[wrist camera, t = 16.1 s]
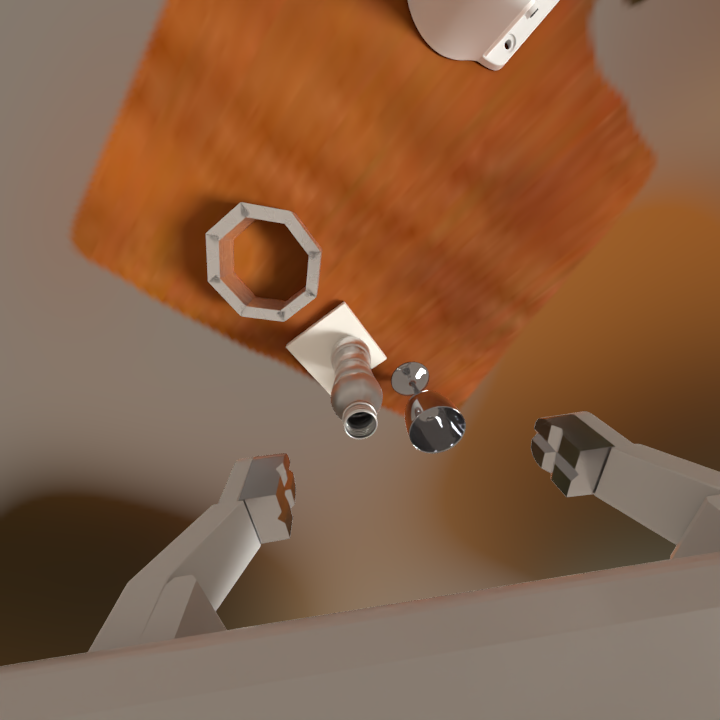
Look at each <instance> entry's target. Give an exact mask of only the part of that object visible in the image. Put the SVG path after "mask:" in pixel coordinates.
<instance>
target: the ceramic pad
mask: <svg viewBox="0 0 720 720" xmlns="http://www.w3.org/2000/svg"><path fill="white" fill-rule="evenodd" d="M348 336H354V337H357V338H360V339H361V340H363V341H364V342H365V343H366V345H367V346H368V348H369V350H370V353H371V364H370V366H371V369H372V368H374V367H375V366H377V365H378V364H380V363H381V362H383V361H384V360H386V359H387V358H386V356H385V354H384V353H383V351H382V350H381V349H380V348H379V346H378V345H377V344H376V342H375V341H374V340H373V338H372V337H371V336H370V334H369V333H368V332H367V330H366V329H365V328H364V326H363V325H362V324H361V322H360V321H359V320H358V318H357V317H356V316H355V314H354V313H353V312H352V310H351V309H350V308H349V307H348V305H347V304H346V303H345V301H344V302H342V303H341V304H340V305H338V306H337V307H336V308H334V309H333V310H332V311H330V312H329V313H328V314H326V315H325V316H324V317H322V318H321V319H320V320H318V321H317V322H316V323H314V324H313V325H312V326H310V327H309V328H308V329H306V330H305V331H304V332H302V333H301V334H300V335H298V336H297V337H296V338H294V339H293V340H292V341H290V342H289V343H287V345H286V348H287V349H288V350H289V351H290V352H291V353H292V354H293V356H294V357H295V358H296V359H297V360H298V361H299V362H300V363H301V364H302V365H303V366H304V367H305V368H306V370H307V371H308V372H309V373H310V374H311V375H312V376H313V377H314V378H315V379H316V380H317V381H318V382H319V384H320V385H321V386H322V387H323V388H324V389H325V390H326V391H327V392H328V393H329V394H330V395H331V392H332V388H333V384H334V377H335V373H334V370H333V367H332V364H331V360H330V356H331V352H332V349H333V347H334V345H335V344H336V343H337V342H338V341H339V340H340V339H342V338H344V337H348Z"/></svg>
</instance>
